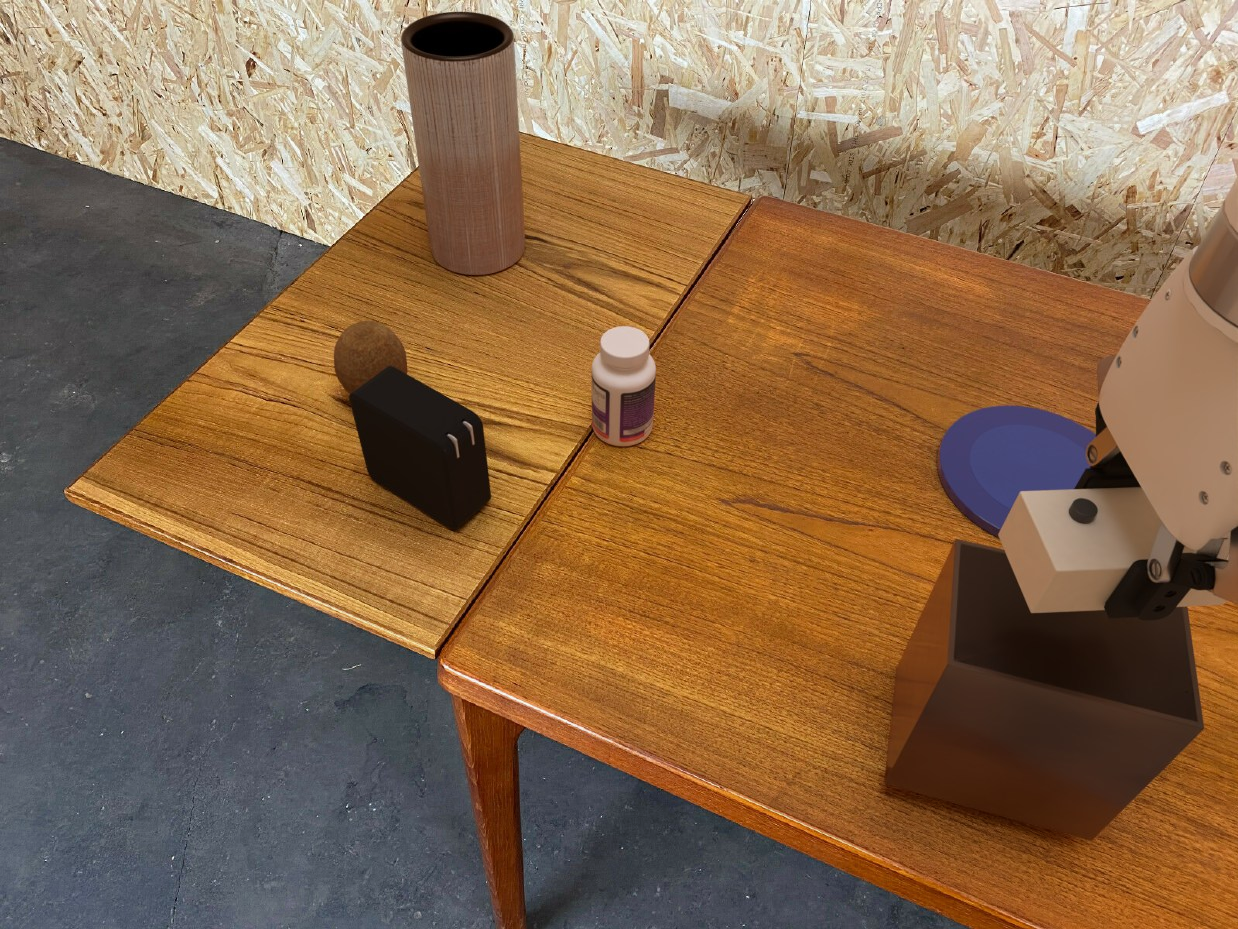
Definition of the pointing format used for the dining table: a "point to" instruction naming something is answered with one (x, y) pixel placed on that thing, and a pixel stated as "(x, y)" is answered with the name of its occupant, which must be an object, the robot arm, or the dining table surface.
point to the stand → (1037, 701)
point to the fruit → (366, 353)
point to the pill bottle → (623, 387)
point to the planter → (467, 138)
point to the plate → (1009, 459)
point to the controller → (1081, 546)
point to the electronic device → (422, 446)
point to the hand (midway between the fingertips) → (1111, 562)
